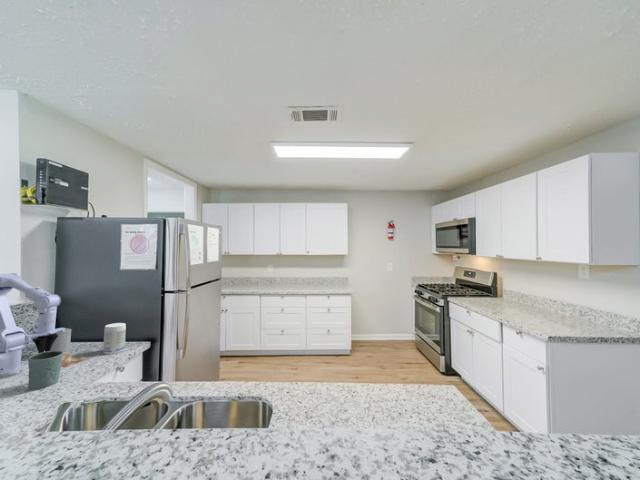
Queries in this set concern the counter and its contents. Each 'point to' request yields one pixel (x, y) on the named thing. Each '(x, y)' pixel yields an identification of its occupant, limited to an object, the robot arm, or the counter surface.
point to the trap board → (75, 360)
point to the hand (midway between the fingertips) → (44, 352)
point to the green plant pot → (44, 369)
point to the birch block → (66, 358)
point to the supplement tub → (114, 338)
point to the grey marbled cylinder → (62, 341)
